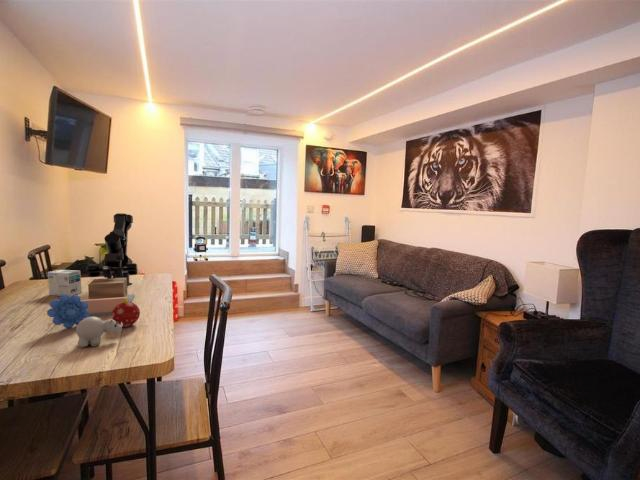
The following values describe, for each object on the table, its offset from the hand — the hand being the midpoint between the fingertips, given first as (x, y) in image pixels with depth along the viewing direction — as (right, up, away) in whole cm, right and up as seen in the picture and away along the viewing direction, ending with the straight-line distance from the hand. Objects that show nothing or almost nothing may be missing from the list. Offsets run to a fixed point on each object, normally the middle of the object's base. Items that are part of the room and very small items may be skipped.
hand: (111, 286), depth 143 cm
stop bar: (+6, -9, -15) cm, 19 cm away
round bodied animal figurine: (+22, -12, -40) cm, 47 cm away
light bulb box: (-27, -5, +10) cm, 30 cm away
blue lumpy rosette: (+5, -11, -30) cm, 32 cm away
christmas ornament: (+22, -11, -26) cm, 35 cm away
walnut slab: (+2, -4, -5) cm, 6 cm away
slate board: (+2, -8, -5) cm, 9 cm away
